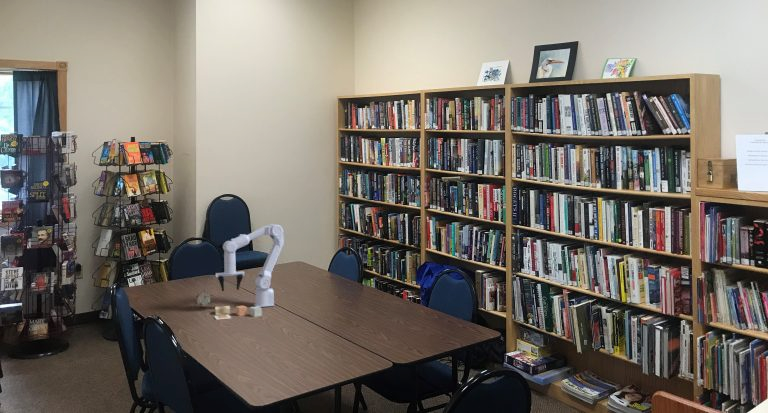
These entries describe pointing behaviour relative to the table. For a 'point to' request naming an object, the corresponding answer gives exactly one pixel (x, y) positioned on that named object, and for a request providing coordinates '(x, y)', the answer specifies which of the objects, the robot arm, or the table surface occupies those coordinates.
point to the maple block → (222, 310)
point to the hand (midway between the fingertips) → (230, 290)
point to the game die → (203, 299)
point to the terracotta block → (241, 310)
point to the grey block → (255, 311)
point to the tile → (222, 317)
